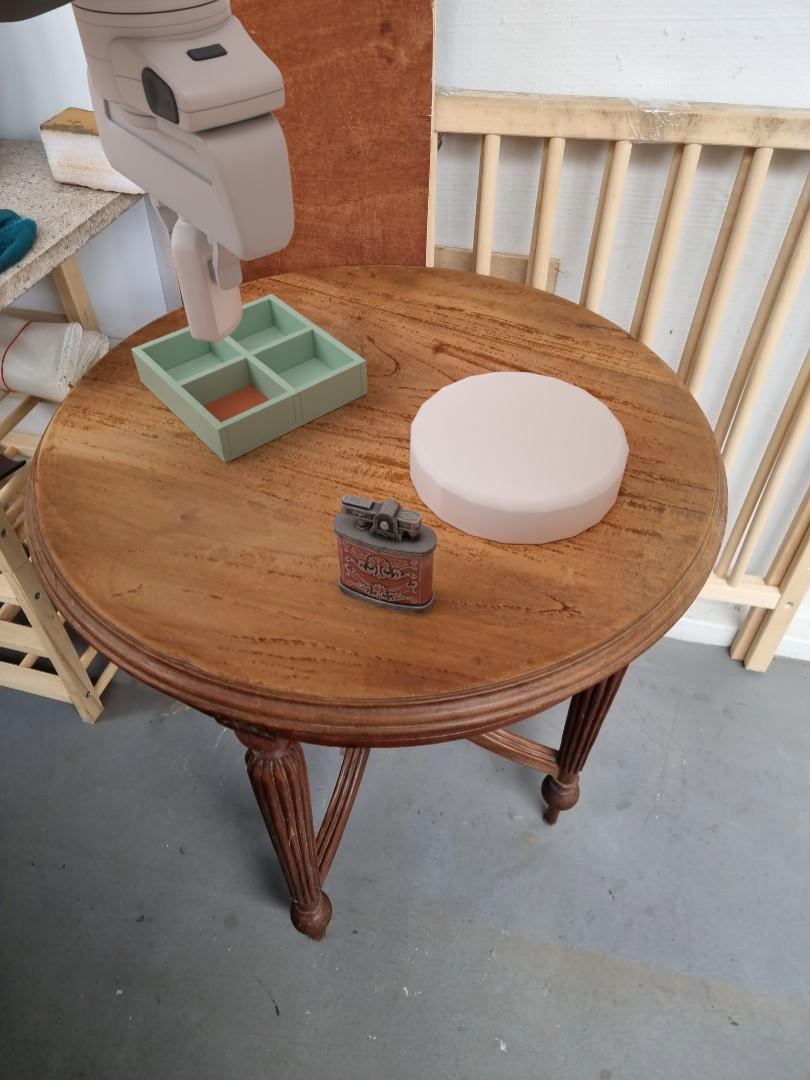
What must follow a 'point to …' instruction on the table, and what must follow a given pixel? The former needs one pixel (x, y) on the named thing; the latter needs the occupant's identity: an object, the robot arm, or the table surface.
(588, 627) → the table surface
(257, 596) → the table surface
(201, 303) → the eye dropper bottle
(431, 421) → the container
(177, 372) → the grid
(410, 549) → the lighter
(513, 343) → the table surface
